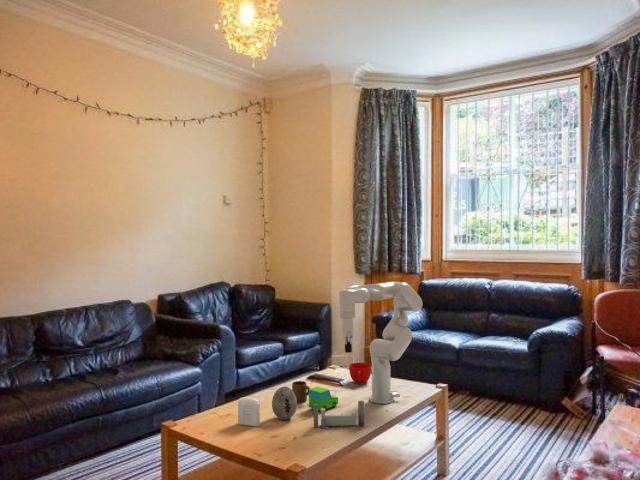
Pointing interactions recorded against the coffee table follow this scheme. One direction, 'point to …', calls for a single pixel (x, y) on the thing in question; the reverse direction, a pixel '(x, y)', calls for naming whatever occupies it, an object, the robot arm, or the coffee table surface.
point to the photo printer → (249, 411)
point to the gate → (339, 418)
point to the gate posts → (324, 425)
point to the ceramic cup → (360, 372)
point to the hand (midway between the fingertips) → (348, 352)
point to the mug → (300, 391)
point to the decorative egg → (284, 403)
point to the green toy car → (322, 398)
